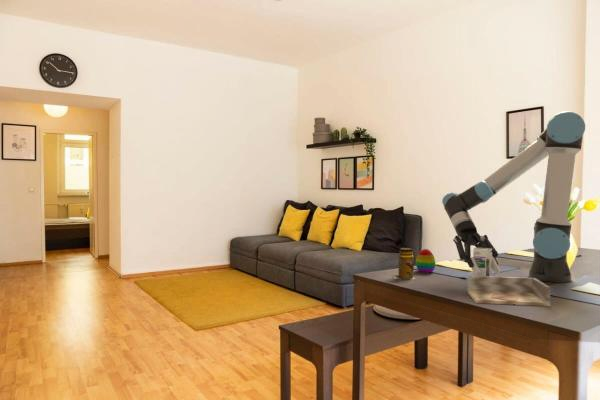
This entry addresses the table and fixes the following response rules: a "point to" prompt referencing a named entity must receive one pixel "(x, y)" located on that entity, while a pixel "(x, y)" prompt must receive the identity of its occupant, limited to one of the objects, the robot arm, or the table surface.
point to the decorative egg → (425, 261)
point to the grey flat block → (508, 290)
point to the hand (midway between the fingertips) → (488, 273)
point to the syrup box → (483, 260)
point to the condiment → (405, 264)
